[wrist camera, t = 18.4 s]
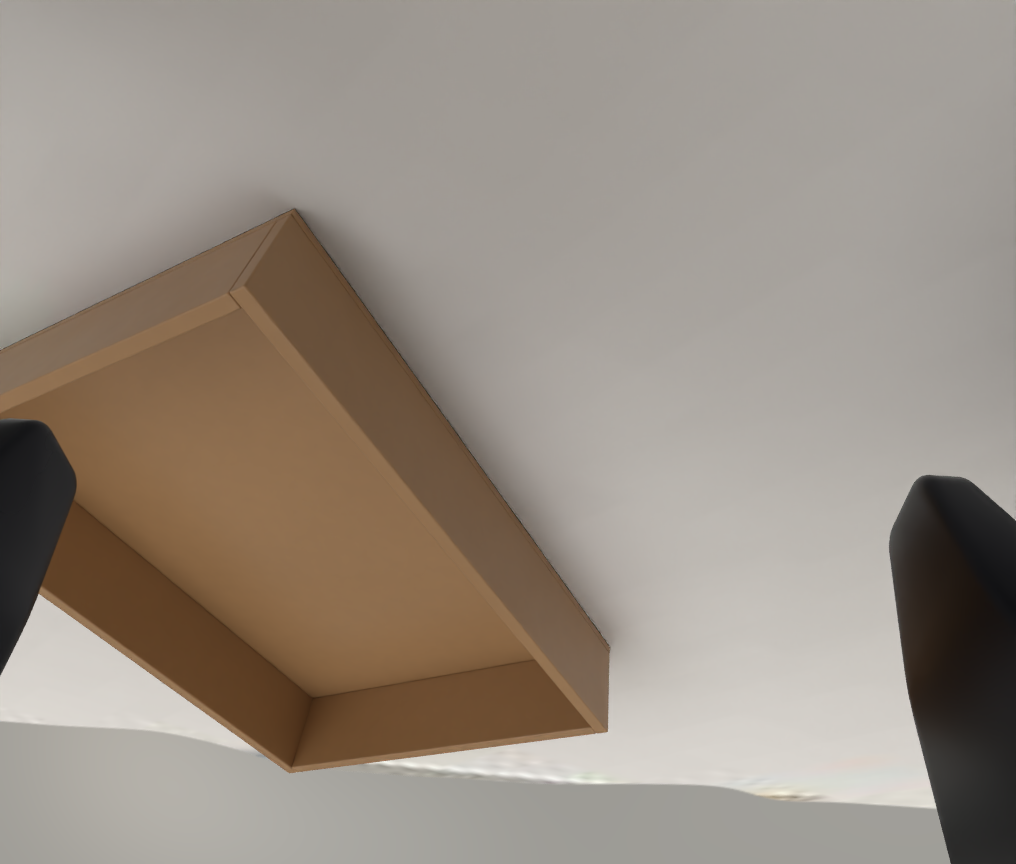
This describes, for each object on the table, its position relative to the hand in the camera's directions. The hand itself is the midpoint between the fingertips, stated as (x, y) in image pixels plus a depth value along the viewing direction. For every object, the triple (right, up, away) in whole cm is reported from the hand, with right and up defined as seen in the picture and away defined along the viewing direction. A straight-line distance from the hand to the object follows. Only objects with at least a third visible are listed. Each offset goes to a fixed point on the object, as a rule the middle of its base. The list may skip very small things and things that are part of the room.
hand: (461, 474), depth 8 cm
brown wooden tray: (-7, -3, +22) cm, 23 cm away
